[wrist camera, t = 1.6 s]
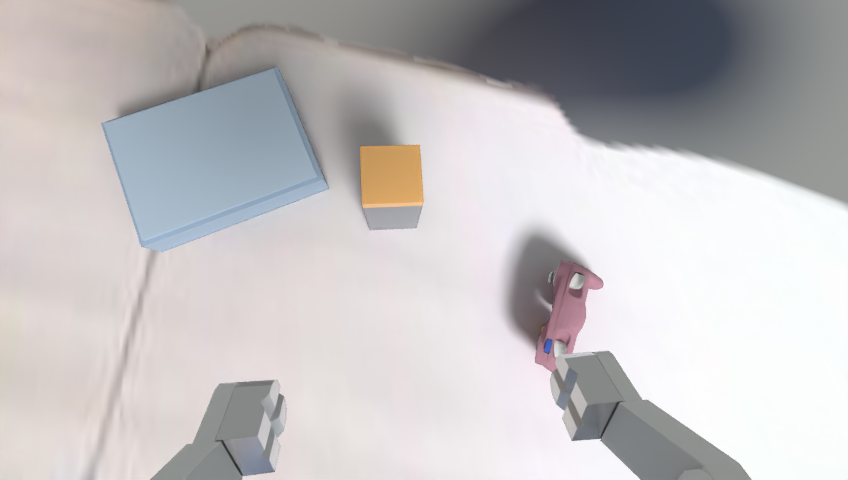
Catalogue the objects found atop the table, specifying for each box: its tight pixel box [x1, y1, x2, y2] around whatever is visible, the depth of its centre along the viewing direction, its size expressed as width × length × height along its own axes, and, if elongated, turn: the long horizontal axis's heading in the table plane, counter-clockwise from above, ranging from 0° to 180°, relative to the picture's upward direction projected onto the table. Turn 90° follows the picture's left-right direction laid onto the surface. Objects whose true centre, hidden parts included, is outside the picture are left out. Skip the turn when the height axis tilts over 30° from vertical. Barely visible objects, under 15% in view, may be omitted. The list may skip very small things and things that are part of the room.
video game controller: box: [535, 261, 603, 372], centre depth 33 cm, size 10×5×7 cm, turn 161°
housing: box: [360, 145, 424, 230], centre depth 32 cm, size 4×4×9 cm
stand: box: [101, 67, 329, 252], centre depth 34 cm, size 16×12×3 cm
